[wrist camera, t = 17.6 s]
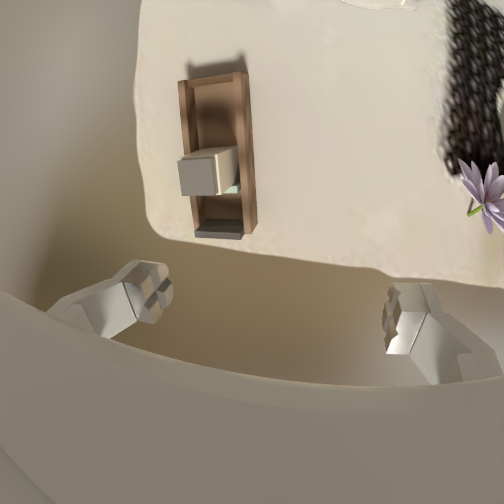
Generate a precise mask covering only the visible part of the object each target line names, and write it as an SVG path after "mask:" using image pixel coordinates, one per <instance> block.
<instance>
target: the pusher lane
mask: <svg viewBox="0 0 504 504" xmlns="http://www.w3.org/2000/svg"><path fill="white" fill-rule="evenodd" d="M178 92H179V105H180V116H181V127H182V137H183V146H184V155H187V154H190V153H192V152H195V151H198V150H201V149H204V148H210V147H225V146H238V155H239V169H240V182H241V190H240V191H239V192H238V193H223V194H222V195H204V196H190V202H191V209H192V215H193V222H194V229H195V231H194V232H195V237H198V238H216V239H234V240H241V238H242V237H243V235H244V234H252V232H253V230H254V229H255V227H256V225H257V224H258V223H257V205H256V188H255V170H254V154H253V137H252V121H251V105H250V90H249V75H248V74H246V73H244V72H241V71H236V72H233V73H230V74H223V75H216V76H209V77H204V78H198V79H193V80H188V81H187V80H182V81H178Z"/></svg>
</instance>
